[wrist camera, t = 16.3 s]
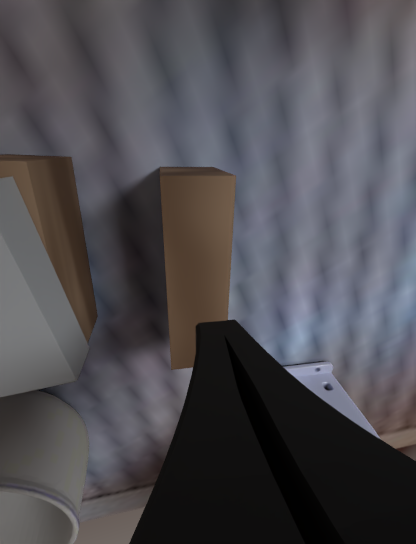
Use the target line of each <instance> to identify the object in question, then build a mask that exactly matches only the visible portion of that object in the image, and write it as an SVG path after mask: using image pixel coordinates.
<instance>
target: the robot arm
mask: <svg viewBox="0 0 416 544" xmlns="http://www.w3.org/2000/svg"><path fill="white" fill-rule="evenodd" d="M332 369H333V366H332V364H331V363H330V362H319V363H310V364H302V365H294V366H285V367H283V366H281V365H280V364H279V363H278V362H277V361H276V360H275V359H274V358H273V357H272V356H271V355H270V354H269V353H268V352H266V351H265V350H264V349H263V348H262V347H261V346H260V345H259V344H258V343H257V342H256V341H255V340H254V339H253V338H252V337H251V336H250V335H249V334H248V332H247V331H246V330H245V329H244V328H243V327H242V326H241V325H240V324H239V323H238V322H237V321H236V320H226V321H214V322H202V323H198V324H197V325H196V354H195V360H194V366H193V371H192V376H191V380H190V384H189V388H188V392H187V396H186V399H185V403H184V406H183V410H182V413H181V416H180V419H179V422H178V425H177V428H176V431H175V434H174V437H173V440H172V442H171V445H170V448H169V450H168V453H167V456H166V458H165V461H164V464H163V466H162V469H161V471H160V474H159V476H158V479H157V481H156V484H155V486H154V488H153V491H152V493H151V495H150V498H149V500H148V502H147V504H146V507H145V509H144V511H143V514H142V516H141V518H140V520H139V523H138V525H137V527H136V530H135V532H134V534H133V536H132V539H131V541H130V543H129V544H416V461H414V460H413V459H411V458H410V457H408V456H406V455H405V454H403V453H401V452H400V451H398V450H396V449H395V448H393V447H392V446H390V445H388V444H387V443H385V442H384V441H382V440H381V439H380V438H379V436H378V435H377V433H376V432H375V430H374V429H373V427H372V426H371V425H370V423H369V422H368V421H367V420H366V418H365V417H364V416H363V414H362V413H361V412H360V410H359V409H358V408H357V406H356V405H355V404H354V402H353V401H352V400H351V398H350V397H349V396H348V394H347V393H346V392H345V390H344V389H343V388H342V386H341V385H340V384H339V382H338V381H337V380H336V378H335V377H334V376H333V374H332V373H331V372H332Z"/></svg>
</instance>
